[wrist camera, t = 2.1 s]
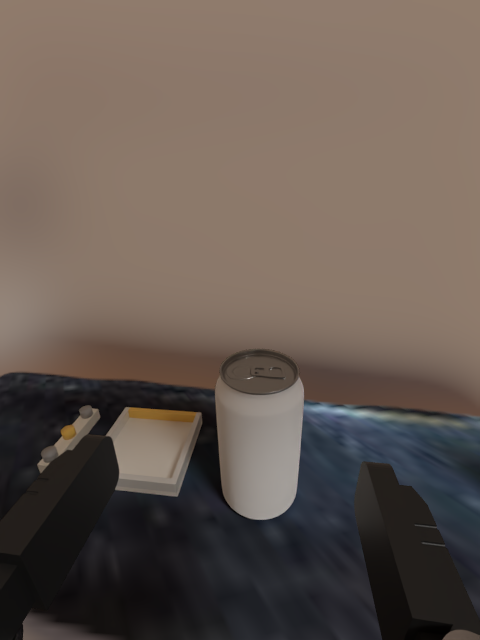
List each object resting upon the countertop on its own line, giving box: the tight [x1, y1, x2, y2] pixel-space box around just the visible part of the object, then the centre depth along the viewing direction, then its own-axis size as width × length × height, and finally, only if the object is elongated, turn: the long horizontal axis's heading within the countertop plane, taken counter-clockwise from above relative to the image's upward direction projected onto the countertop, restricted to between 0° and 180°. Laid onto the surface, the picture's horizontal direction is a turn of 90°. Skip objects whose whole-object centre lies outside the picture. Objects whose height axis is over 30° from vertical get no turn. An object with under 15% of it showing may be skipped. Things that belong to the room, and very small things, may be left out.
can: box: [215, 349, 304, 520], centre depth 24 cm, size 6×6×12 cm
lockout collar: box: [106, 407, 202, 497], centre depth 30 cm, size 9×9×2 cm
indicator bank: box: [37, 405, 100, 473], centre depth 31 cm, size 1×8×2 cm, turn 173°
